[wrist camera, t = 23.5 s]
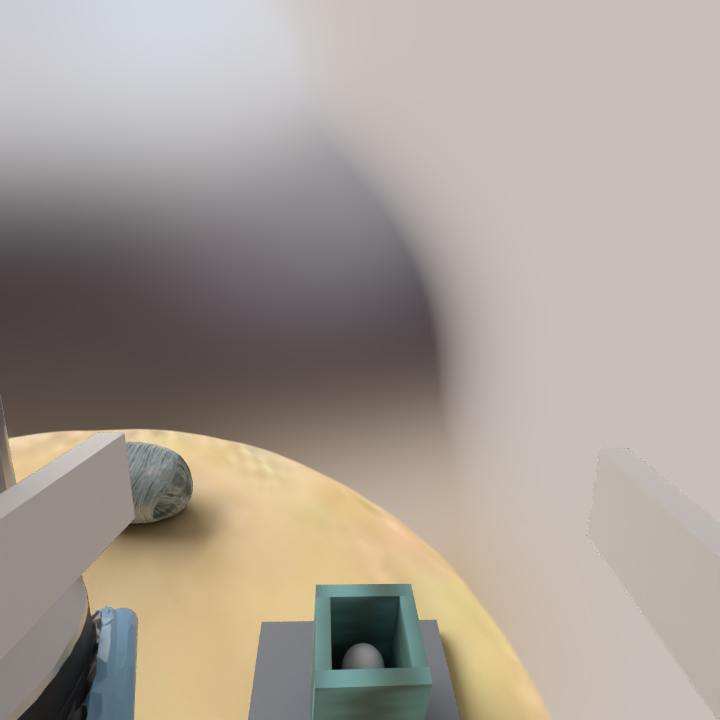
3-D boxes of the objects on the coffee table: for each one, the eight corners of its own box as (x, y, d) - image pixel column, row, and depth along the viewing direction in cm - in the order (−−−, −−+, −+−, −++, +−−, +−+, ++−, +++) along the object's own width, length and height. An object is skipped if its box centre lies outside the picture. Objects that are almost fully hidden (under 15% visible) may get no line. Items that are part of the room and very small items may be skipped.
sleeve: (308, 782, 30) (314, 688, 26) (311, 673, 36) (316, 585, 32) (411, 776, 30) (432, 684, 27) (396, 671, 37) (410, 583, 33)
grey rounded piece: (217, 466, 57) (174, 422, 50) (189, 541, 51) (135, 505, 44) (130, 465, 61) (79, 425, 54) (94, 536, 55) (30, 501, 47)
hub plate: (225, 897, 26) (219, 817, 22) (261, 633, 40) (261, 559, 37) (492, 878, 27) (525, 800, 24) (434, 630, 42) (448, 559, 39)
